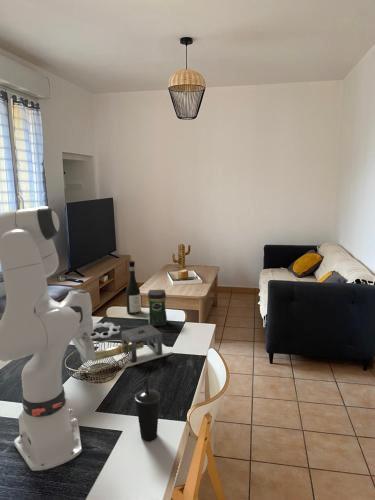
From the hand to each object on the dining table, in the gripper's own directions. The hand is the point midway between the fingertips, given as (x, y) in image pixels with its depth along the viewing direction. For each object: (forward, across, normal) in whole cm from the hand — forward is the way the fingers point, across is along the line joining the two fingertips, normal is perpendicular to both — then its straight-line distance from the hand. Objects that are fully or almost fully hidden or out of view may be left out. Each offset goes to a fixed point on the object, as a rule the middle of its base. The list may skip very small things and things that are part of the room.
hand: (84, 361), depth 152 cm
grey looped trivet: (+5, +36, -20) cm, 41 cm away
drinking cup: (+5, -48, -5) cm, 49 cm away
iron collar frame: (+5, 0, -25) cm, 26 cm away
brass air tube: (+1, 0, -14) cm, 14 cm away
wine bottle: (+5, +50, -44) cm, 66 cm away
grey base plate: (+5, 0, -25) cm, 26 cm away
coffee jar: (+5, +28, -47) cm, 55 cm away
